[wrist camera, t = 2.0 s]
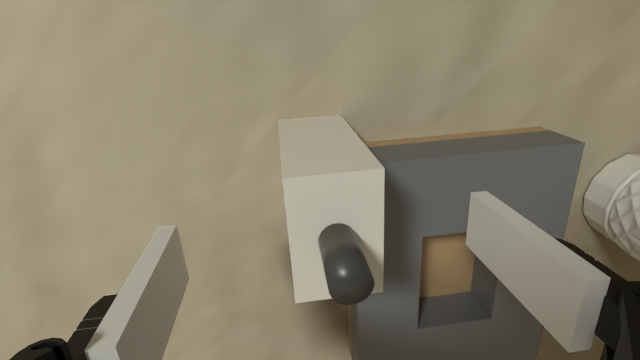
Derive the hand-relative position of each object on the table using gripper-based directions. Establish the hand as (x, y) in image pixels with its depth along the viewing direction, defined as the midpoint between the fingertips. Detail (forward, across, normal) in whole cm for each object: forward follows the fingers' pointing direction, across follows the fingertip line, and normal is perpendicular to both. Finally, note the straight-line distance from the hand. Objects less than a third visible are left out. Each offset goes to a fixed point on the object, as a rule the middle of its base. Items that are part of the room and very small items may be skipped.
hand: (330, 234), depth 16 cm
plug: (+9, 0, 0) cm, 9 cm away
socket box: (+9, +9, -8) cm, 15 cm away
